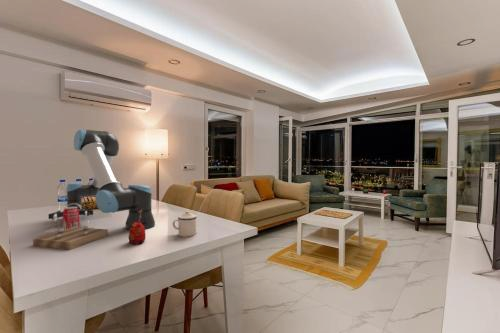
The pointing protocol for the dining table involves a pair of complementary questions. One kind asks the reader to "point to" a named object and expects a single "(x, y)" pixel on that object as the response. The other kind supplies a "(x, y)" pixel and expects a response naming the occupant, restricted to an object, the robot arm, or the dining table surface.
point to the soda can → (70, 217)
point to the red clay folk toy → (137, 232)
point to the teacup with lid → (186, 224)
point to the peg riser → (70, 237)
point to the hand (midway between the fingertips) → (70, 217)
